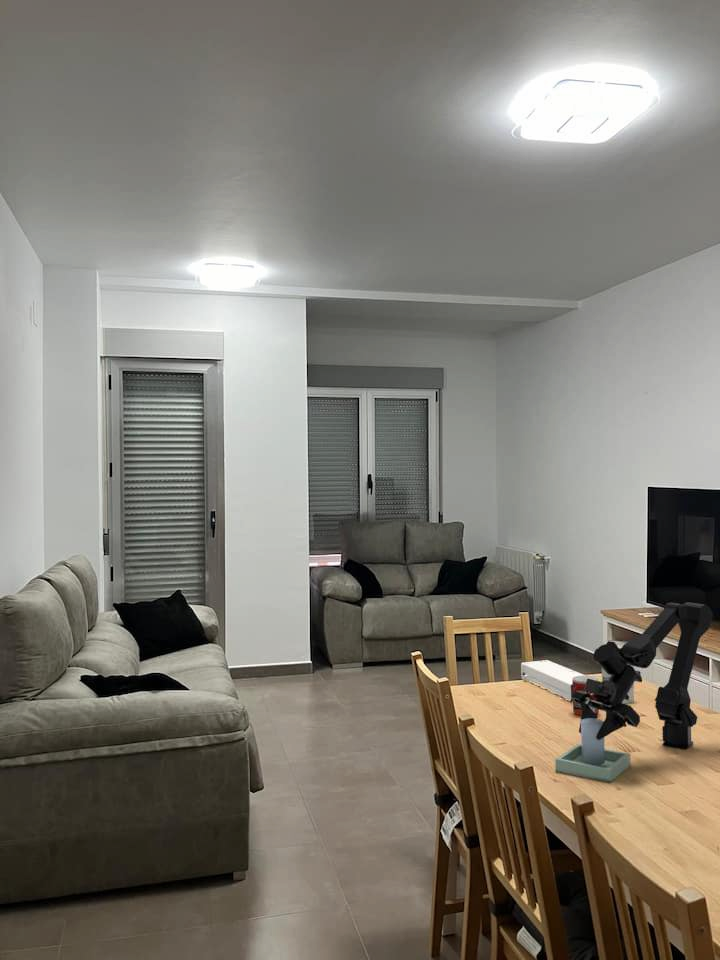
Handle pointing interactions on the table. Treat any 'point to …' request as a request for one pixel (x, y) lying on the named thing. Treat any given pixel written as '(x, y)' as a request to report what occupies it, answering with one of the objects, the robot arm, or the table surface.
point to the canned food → (579, 685)
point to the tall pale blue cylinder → (592, 742)
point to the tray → (603, 772)
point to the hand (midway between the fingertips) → (588, 735)
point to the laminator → (550, 676)
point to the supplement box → (630, 693)
